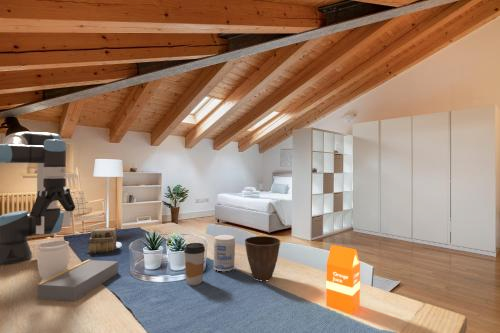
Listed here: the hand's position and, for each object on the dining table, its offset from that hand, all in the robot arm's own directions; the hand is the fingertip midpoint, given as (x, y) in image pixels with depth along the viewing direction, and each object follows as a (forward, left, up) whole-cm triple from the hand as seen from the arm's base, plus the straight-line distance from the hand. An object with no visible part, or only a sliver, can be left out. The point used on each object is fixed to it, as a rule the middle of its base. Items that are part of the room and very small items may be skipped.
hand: (54, 230), depth 114 cm
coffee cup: (-6, +57, -21) cm, 61 cm away
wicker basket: (-41, -7, -21) cm, 47 cm away
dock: (+2, +14, -21) cm, 25 cm away
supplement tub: (-22, +66, -21) cm, 73 cm away
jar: (0, 0, -21) cm, 21 cm away
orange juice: (+6, +113, -21) cm, 115 cm away
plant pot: (-14, +84, -21) cm, 88 cm away
